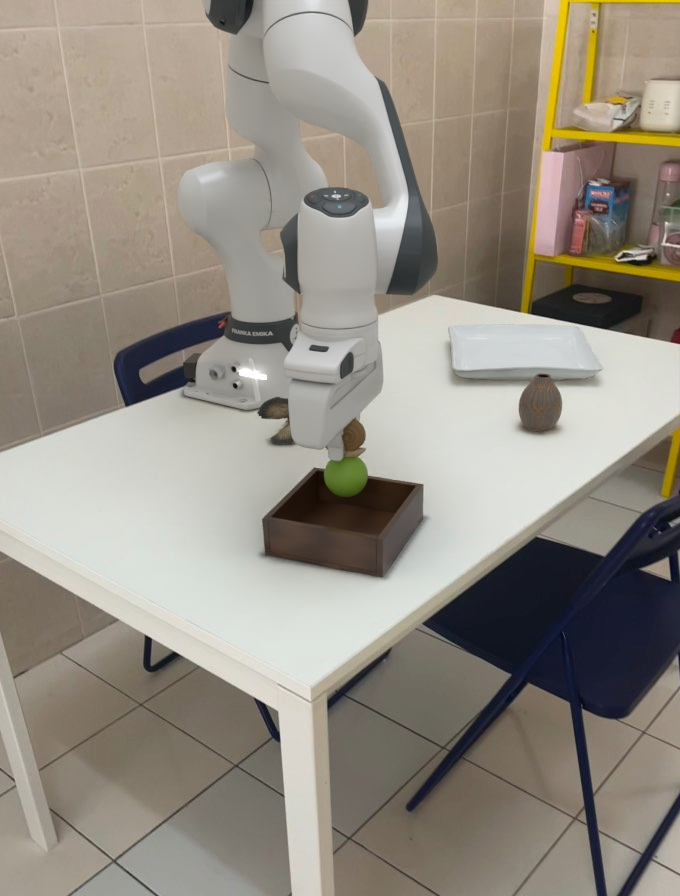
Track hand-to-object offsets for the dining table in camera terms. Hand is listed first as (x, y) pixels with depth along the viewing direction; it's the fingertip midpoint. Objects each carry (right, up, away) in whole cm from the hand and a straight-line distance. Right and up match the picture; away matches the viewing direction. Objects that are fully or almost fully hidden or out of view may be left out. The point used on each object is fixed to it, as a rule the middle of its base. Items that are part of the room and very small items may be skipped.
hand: (342, 453), depth 107 cm
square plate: (+32, +24, +64) cm, 76 cm away
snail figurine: (0, -5, +3) cm, 6 cm away
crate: (0, -10, +6) cm, 12 cm away
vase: (+31, +8, +36) cm, 48 cm away
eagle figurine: (-9, +6, +35) cm, 37 cm away
